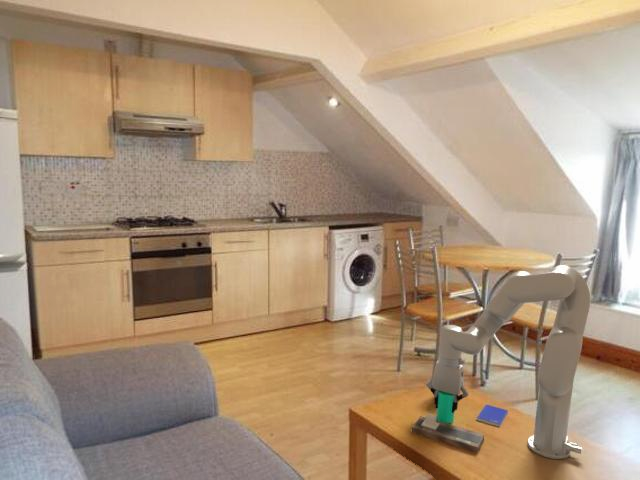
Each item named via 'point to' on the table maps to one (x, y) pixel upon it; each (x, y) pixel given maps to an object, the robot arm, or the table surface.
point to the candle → (445, 407)
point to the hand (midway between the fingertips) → (445, 408)
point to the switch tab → (430, 421)
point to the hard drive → (492, 415)
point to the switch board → (450, 435)
